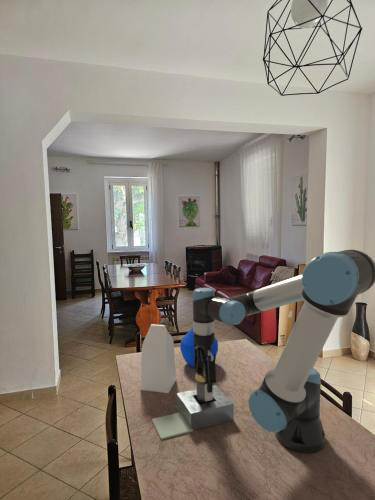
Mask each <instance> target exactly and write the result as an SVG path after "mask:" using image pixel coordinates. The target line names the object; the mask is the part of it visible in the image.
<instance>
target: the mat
mask: <svg viewBox="0 0 375 500" xmlns="http://www.w3.org/2000/svg"><path fill="white" fill-rule="evenodd" d="M151 421H152V424H153V426H154V428H155V430H156V433H157V434H158V436H159V439H160V440H161V441H162V440H166V439H169V438H174V437H177V436H181V435H186V434H188V433H189V434H190V433H193V432H194V430H193V429H191V428H190V427H189V425H188V424H187V422H186V421H185V419H184V417H183V416H182V414H181V413H180V412H179V411H178V412H177V413H176V412H175V413H172V414H166V415H164V416H162V415H161V416H159V417H155V418H152V419H151Z"/></svg>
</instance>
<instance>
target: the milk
mask: <svg viewBox="0 0 375 500" xmlns="http://www.w3.org/2000/svg"><path fill="white" fill-rule="evenodd" d="M148 328H149V329H148V331H147V333H146V335H145V338H144V340H143V342H142V345H141V363H140V366H141V368H140V391H148V392H157V393H163V394H164V393H165V394H169V393H170V391H171V389H172V388H173V386H174V384H175V383H176V381H177V374H176V373H177V372H176V360H175V359H176V357H175V347H174V346H175V345H174V337H173V336H172V334H171V333H170V332H169V331H168V330H167V327H166V325H165V324H157V323H156V324H155V323H151V324H150V327H148Z"/></svg>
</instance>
